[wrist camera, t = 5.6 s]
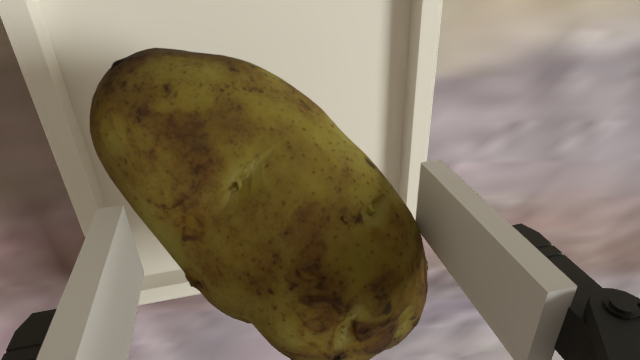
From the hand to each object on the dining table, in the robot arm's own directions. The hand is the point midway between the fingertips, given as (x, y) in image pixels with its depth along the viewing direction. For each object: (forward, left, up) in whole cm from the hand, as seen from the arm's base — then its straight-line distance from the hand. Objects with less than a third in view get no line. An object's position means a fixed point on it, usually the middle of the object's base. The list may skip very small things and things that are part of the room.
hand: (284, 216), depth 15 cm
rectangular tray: (0, 0, -11) cm, 11 cm away
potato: (0, 0, -5) cm, 5 cm away
